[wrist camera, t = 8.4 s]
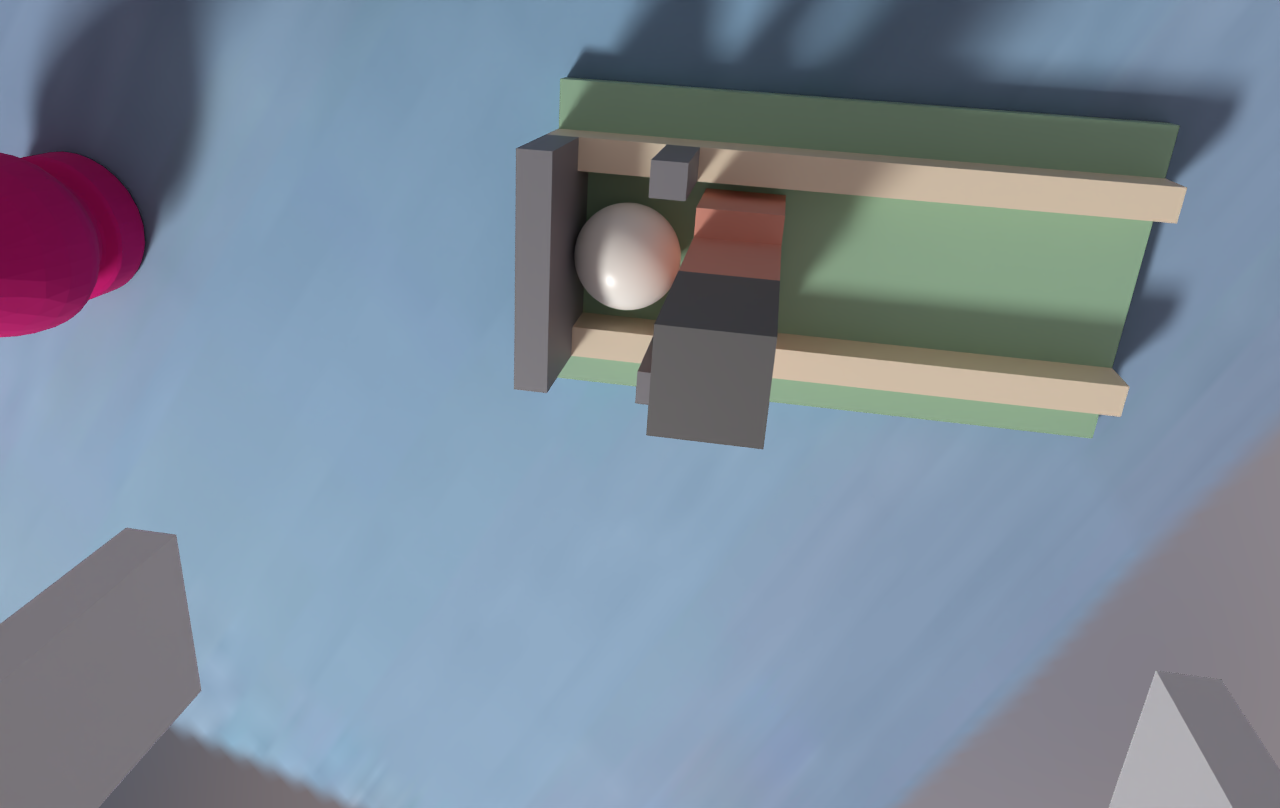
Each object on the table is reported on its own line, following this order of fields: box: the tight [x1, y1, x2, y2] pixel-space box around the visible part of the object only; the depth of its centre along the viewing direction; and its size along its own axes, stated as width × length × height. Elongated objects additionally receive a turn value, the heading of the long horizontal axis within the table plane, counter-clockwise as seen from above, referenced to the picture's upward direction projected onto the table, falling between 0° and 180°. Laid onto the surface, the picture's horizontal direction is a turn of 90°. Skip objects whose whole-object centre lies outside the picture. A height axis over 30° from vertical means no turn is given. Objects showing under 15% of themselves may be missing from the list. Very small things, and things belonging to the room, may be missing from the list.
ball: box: [574, 202, 681, 310], centre depth 35 cm, size 4×4×4 cm
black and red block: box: [646, 188, 786, 449], centre depth 29 cm, size 5×3×14 cm, turn 177°
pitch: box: [514, 77, 1187, 438], centre depth 33 cm, size 12×22×7 cm, turn 87°
